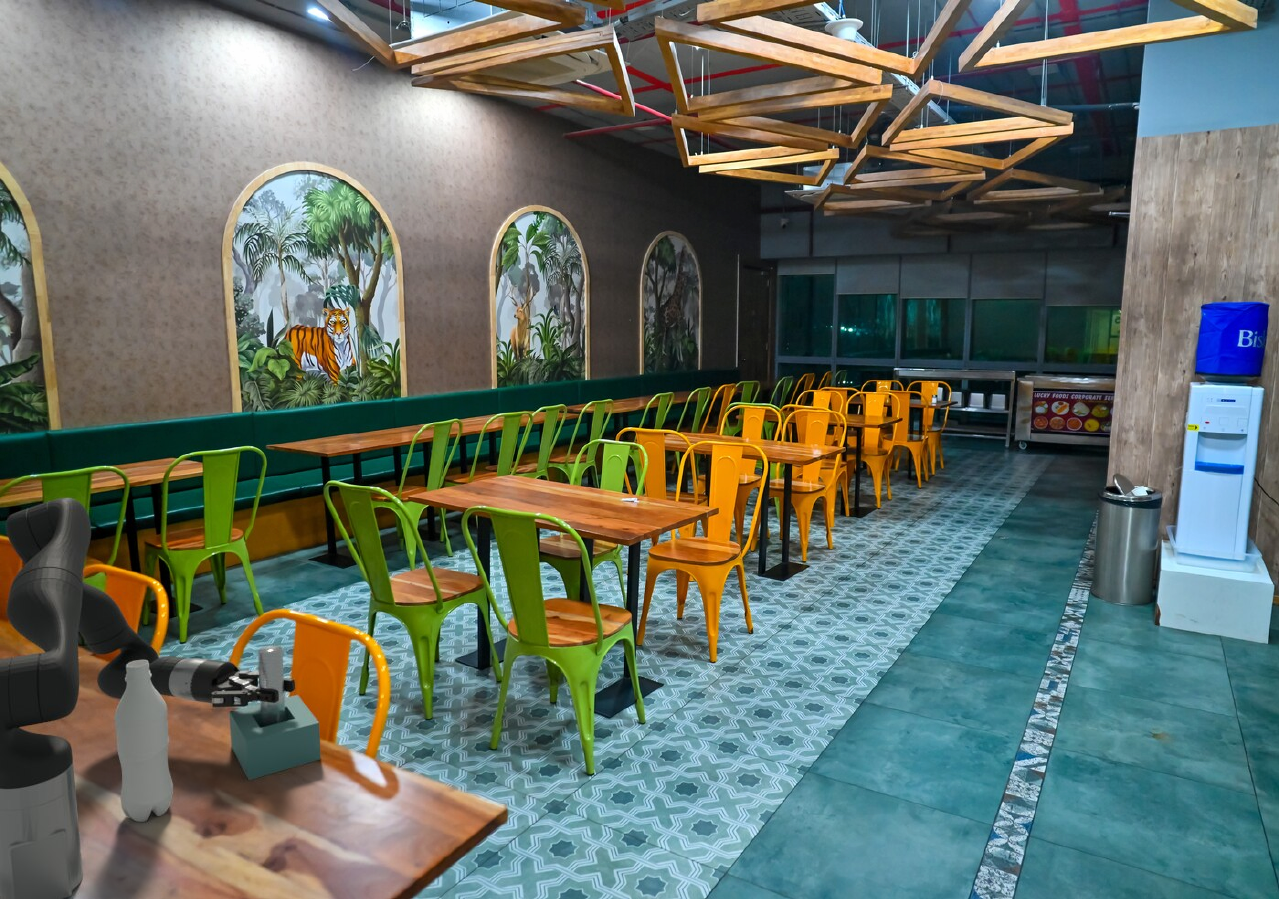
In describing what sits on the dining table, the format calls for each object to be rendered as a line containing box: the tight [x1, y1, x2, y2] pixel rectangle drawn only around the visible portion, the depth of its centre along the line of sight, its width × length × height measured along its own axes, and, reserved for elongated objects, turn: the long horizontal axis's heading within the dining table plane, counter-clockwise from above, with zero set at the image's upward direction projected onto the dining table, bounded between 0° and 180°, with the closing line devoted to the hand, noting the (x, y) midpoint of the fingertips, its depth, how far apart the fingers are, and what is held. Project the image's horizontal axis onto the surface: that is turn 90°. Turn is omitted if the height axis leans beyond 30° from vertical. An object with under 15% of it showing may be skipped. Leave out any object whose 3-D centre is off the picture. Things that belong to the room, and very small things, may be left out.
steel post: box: [257, 645, 285, 727], centre depth 149 cm, size 4×4×18 cm
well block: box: [229, 694, 322, 781], centre depth 150 cm, size 14×12×7 cm
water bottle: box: [113, 660, 174, 823], centre depth 130 cm, size 7×7×25 cm
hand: (285, 691), depth 148 cm, fingers closed on steel post, 4 cm apart
